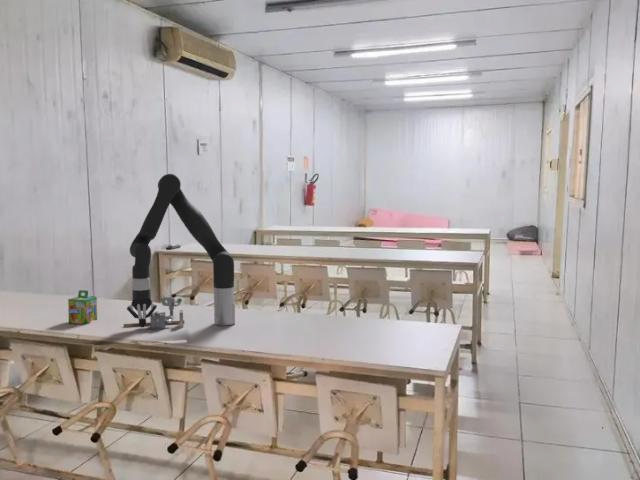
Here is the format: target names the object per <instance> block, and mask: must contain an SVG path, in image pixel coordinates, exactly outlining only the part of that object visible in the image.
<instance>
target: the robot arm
mask: <svg viewBox="0 0 640 480" xmlns="http://www.w3.org/2000/svg"><path fill="white" fill-rule="evenodd" d="M181 184H182V183H181V180H180V178H179V177H178V176H177V175H176V174H175V173H167V174H165V175H163V176H162V177H160V179H159V180H158V182H157V189H158V190H157V193H156V197H155V199H154V202H153V204H152V206H151V207H150V209H149V211H148V213H147V215H146V217H145V218H144V220H143V223H142V225H141V227H140V230H139V232H138V233H137V234H136V236H135V238H134V239H133V241H132V242H131V244H130V248H129V254H130V256H132V257H133V258H134V265H132V268H131V269H132V270H131V272H132V273H131V274H132V276H131V277H132V281H131V289H132V290H131V291H132V301H131V304H130V305H128V306H127V307H126V310H127V311H128V312H129V313H130V314H131V315H132V317H133V318H135V319H138V323H139V326H138V327H140V328H145V327H147V326H146V323H147V318H150V316H151V314H152V313H155V310H156V309H157V306H158V305H157V304H155V303H153V300H152V298H151V296H152V295H151V280H150V279H151V278H150V265H151V259H152V250H151V247H150V243H151V241H152V240H154V239H155V238H156V237H157V235H158V232H159V229H160V228H161V225H162V222H163V220H164V217H165V215H166V213H167V211H168V208H169V206H170V205H171V206H172V207H173V209H174V210H175V212H176V214H177V215H178V217H179V218H180V221H181V222H182V224H183V225H184V226H185V228H186V230H187V231H188V232H189V234H190V235H191V236H192V237H193V238H194V240H195V241H196V242H197V243H198V244H199V245H201V247H202V248H203V249H204V250H205V251H206V253H207V255H208V256H209V258H210V259H211V262H212V264H213V265H212V266H213V267H212V268H213V271H212V272H213V273H212V274H213V314H214V315H213V320H214V321H213V323H214V325H216V326H224V327H225V326H231V325H235V324H236V305H235V260H234V258H233V256H232V255H231V254H230V252H228V250H227V249H226V248H225V247H224V246H223V245H222V243H221V242H220V241H219V239H218V237H217V236H216V234H215V232H214V230H213V229H212V227H211V225H210V224H209V222H208V220H207V219H206V218H205V216H204V214H202V212H201V211H200V210H199V209H198V208H197V207H196V206H195V205H194V204H192V203H191V202H190V200H189V199H188V198H187V197H186V195H185V194H184V192H183V190H182V189H181V186H182V185H181ZM149 308H150V310H149ZM134 309H135V310H134ZM148 310H149V311H148ZM135 311H137V313H136V312H135ZM147 311H148V313H147Z"/></svg>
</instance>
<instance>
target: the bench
mask: <svg viewBox="0 0 640 480" xmlns="http://www.w3.org/2000/svg"><path fill="white" fill-rule="evenodd" d="M178 311H179V315H178V316H179V320H172V323H166V326H167V325H168V326H169V325H179V329H181V328H184V324H185V320H184V310H183V309H179V310H178ZM148 326H149V327H151V321H150V322H148V321H146V326H145V327H148ZM131 327H133V328H134V327H140V326H139V322H135V323H134V322H133V323H131V322H130V323H123V328H131Z"/></svg>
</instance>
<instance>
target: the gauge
mask: <svg viewBox="0 0 640 480" xmlns="http://www.w3.org/2000/svg"><path fill="white" fill-rule="evenodd" d="M149 318H150V322H151V326H150V330H152V331H155V330H166V327H167V325H166V323H172V321H173V319H167V318H166V311H165V312H162V311H154V312H153V313H152V314H151V316H150V317H149Z"/></svg>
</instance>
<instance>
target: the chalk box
mask: <svg viewBox="0 0 640 480" xmlns="http://www.w3.org/2000/svg"><path fill="white" fill-rule="evenodd" d="M83 294H84V295H83ZM88 294H89V290H86V289H85V290H84V289H83V290H81V289H80V290H78V295H77V296H75V297H71V298H68V299H67V301H68V302H67V304H68V305H67V306H68V310H67V311H68V324H74V325H89V324H91V322H92V321H97V320H98V309H97V307H98V302H97V300H98V297H97V296H92V295H88Z"/></svg>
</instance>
